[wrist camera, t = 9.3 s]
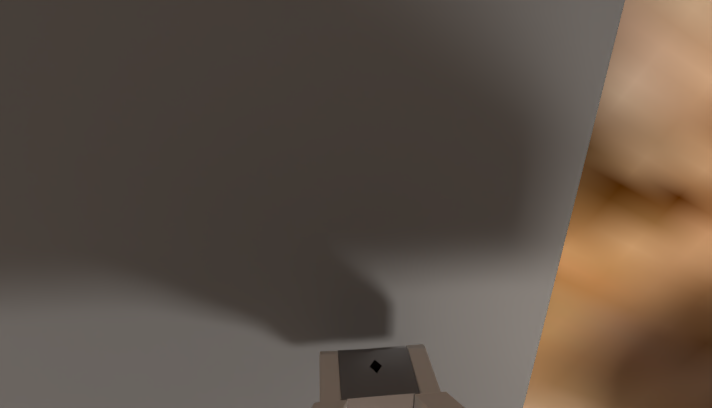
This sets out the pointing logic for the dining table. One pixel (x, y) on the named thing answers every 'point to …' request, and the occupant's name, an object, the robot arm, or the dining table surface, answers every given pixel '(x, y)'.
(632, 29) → the dining table surface
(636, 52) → the dining table surface
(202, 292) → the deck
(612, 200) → the dining table surface
